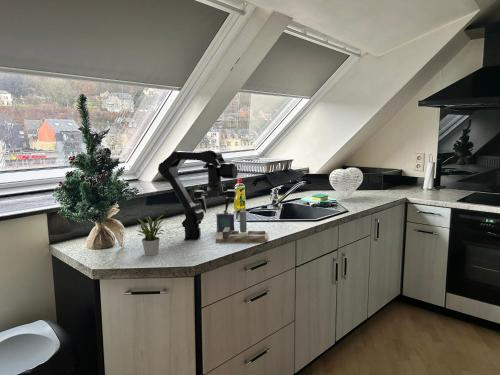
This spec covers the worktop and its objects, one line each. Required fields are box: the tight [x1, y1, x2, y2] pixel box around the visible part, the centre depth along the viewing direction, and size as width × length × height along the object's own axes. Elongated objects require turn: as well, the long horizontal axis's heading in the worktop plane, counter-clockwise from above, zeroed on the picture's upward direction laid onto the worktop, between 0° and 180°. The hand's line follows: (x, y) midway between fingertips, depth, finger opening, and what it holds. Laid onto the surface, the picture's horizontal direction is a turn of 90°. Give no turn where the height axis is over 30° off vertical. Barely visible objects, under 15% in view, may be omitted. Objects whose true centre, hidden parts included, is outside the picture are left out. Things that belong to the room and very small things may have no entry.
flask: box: [216, 209, 235, 233], centre depth 191 cm, size 9×3×11 cm, turn 72°
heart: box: [328, 167, 364, 200], centre depth 272 cm, size 28×16×22 cm, turn 129°
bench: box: [215, 227, 269, 243], centre depth 177 cm, size 23×11×4 cm, turn 86°
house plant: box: [136, 214, 166, 256], centre depth 158 cm, size 14×14×16 cm
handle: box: [238, 210, 249, 235], centre depth 176 cm, size 4×7×11 cm, turn 176°
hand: (215, 212), depth 173 cm, fingers open, 9 cm apart
